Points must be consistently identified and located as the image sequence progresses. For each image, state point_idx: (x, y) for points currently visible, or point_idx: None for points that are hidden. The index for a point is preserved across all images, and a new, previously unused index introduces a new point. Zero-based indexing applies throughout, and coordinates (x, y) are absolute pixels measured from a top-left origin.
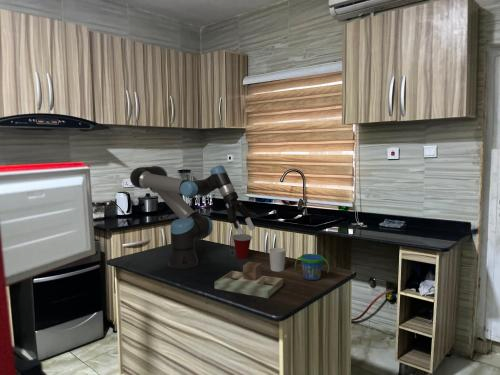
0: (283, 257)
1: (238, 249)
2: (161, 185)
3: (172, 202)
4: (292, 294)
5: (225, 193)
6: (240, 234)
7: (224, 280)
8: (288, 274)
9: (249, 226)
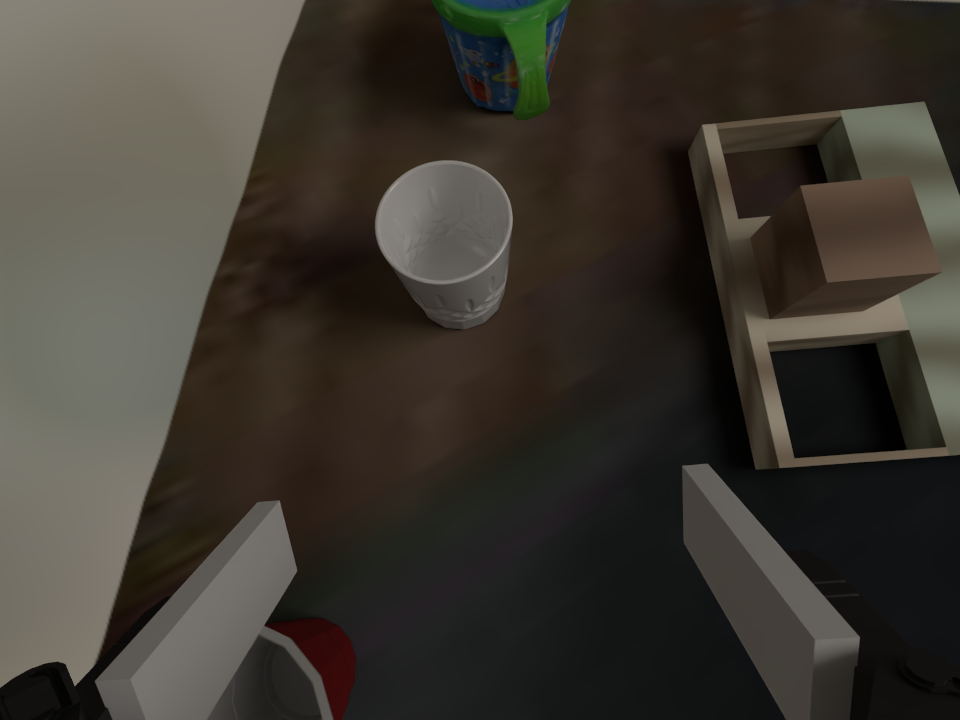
0: (464, 193)
1: (342, 705)
2: None
3: None
4: (769, 66)
5: None
6: None
7: None
8: (511, 198)
9: (262, 602)
